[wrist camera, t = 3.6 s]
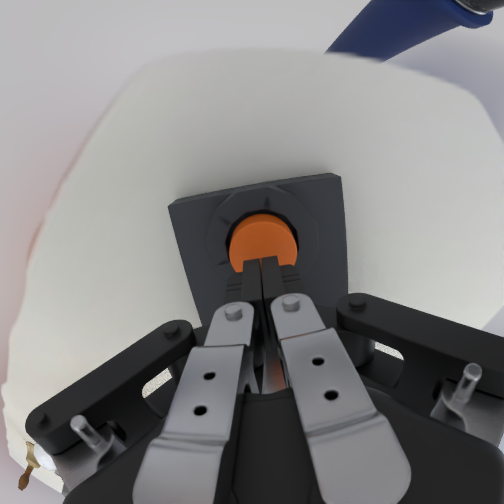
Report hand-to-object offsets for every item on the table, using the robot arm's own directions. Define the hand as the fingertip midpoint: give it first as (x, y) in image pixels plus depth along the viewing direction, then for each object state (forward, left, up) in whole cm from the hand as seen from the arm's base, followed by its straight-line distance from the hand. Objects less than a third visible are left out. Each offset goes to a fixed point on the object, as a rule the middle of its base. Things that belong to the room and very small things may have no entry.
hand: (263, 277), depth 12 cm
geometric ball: (+38, -51, -8) cm, 64 cm away
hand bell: (+49, -69, -8) cm, 85 cm away
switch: (0, 0, -4) cm, 4 cm away
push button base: (+5, 0, -8) cm, 10 cm away
